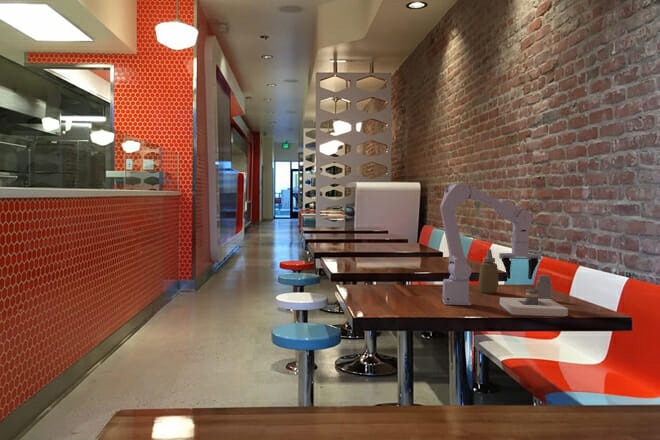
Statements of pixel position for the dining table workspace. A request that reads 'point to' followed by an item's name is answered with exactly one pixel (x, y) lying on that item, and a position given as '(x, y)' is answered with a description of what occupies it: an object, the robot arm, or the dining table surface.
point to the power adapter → (544, 287)
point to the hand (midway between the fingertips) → (519, 278)
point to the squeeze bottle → (488, 274)
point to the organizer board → (533, 307)
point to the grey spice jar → (532, 297)
